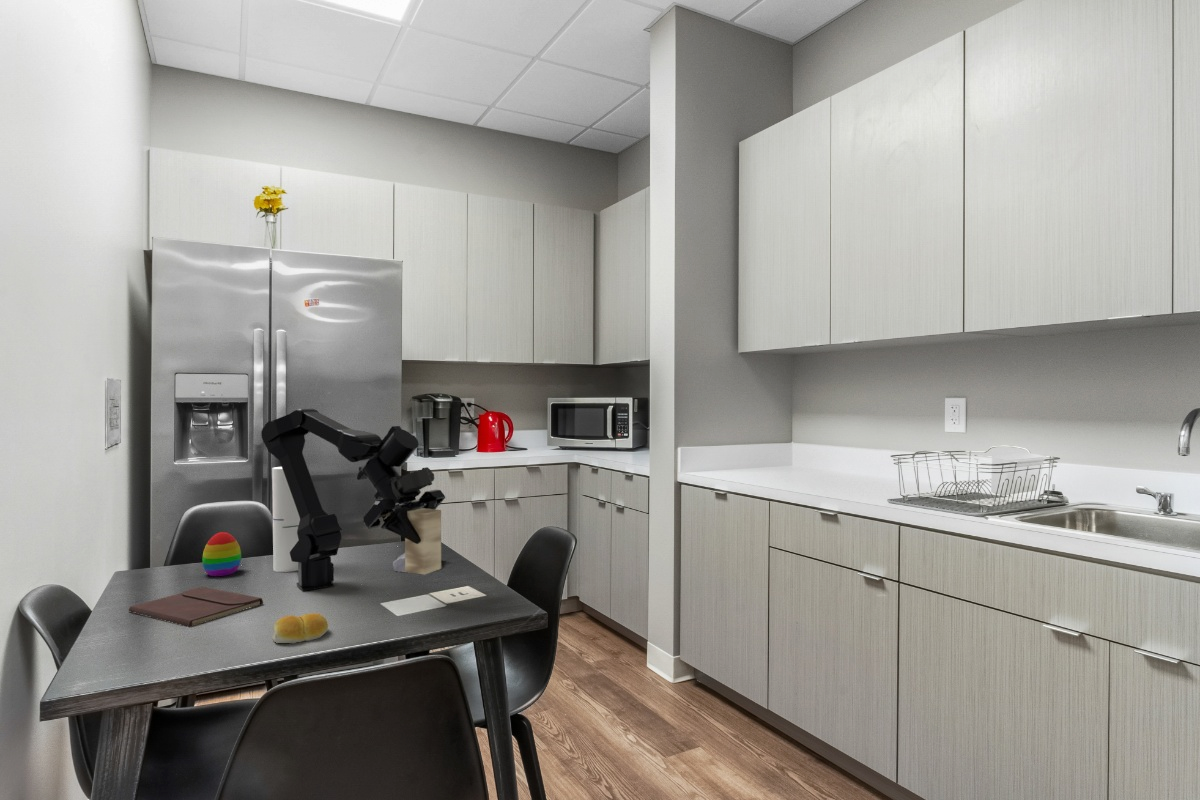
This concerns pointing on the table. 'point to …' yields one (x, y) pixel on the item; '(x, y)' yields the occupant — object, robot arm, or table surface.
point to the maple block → (424, 542)
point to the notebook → (196, 606)
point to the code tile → (457, 594)
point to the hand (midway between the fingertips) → (428, 539)
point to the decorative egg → (221, 555)
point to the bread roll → (299, 628)
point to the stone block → (399, 563)
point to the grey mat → (412, 605)
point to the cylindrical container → (283, 523)
